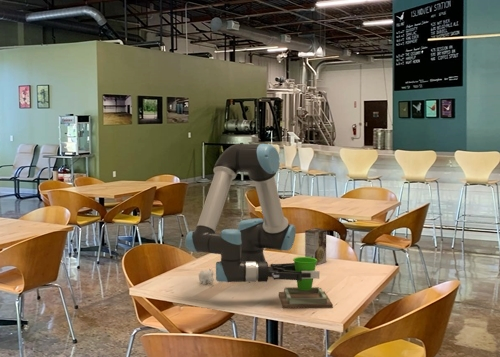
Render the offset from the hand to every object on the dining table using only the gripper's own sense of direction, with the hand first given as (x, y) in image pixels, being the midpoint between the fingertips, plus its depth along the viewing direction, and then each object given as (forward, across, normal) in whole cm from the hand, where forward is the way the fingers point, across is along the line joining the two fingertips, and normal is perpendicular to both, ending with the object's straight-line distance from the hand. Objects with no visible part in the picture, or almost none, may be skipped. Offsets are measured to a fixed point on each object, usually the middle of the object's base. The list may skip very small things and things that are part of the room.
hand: (316, 271), depth 208 cm
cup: (-5, 0, -7) cm, 8 cm away
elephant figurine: (-42, -25, -12) cm, 51 cm away
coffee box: (+10, -58, -11) cm, 60 cm away
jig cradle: (-4, 0, -12) cm, 12 cm away
